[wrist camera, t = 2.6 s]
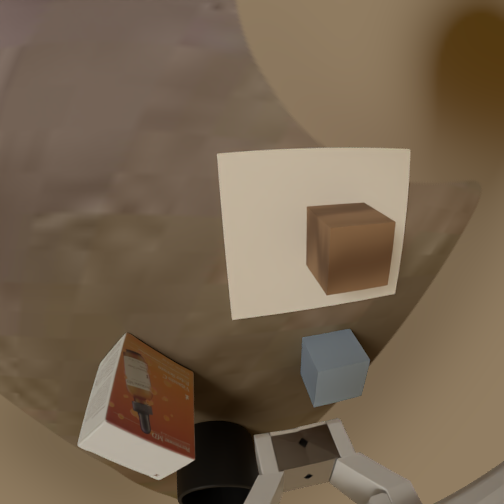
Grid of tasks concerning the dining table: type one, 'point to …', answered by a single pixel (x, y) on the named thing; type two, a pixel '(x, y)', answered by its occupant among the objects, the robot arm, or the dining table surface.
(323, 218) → the block
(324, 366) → the cube
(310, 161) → the cream flat square panel
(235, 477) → the mug
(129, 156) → the dining table surface
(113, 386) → the small box
